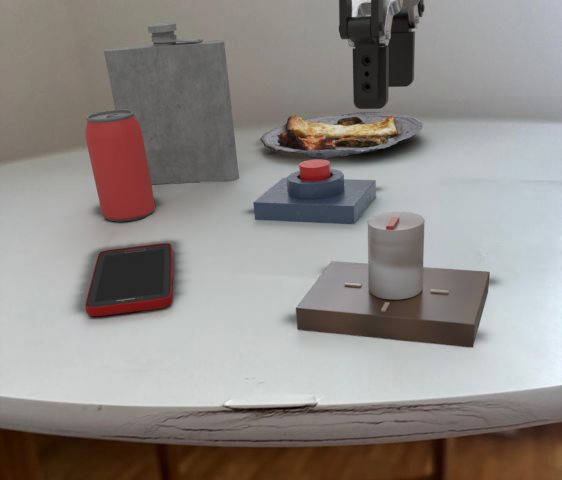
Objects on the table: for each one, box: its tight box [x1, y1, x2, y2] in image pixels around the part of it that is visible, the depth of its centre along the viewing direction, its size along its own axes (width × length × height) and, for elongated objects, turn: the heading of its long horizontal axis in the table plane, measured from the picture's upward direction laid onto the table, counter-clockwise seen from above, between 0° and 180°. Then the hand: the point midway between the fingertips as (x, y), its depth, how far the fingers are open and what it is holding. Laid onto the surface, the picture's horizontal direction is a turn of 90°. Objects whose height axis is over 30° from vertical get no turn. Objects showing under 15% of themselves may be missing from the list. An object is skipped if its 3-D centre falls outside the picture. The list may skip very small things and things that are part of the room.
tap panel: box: [295, 260, 491, 349], centre depth 58 cm, size 14×10×2 cm
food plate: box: [259, 111, 425, 160], centre depth 108 cm, size 25×23×4 cm
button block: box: [252, 167, 377, 225], centre depth 82 cm, size 12×10×4 cm
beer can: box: [85, 109, 156, 223], centre depth 84 cm, size 7×7×12 cm
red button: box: [298, 158, 331, 181], centre depth 81 cm, size 4×4×2 cm
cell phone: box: [84, 242, 174, 317], centre depth 67 cm, size 8×15×1 cm, turn 8°
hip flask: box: [103, 22, 240, 186], centre depth 93 cm, size 16×4×20 cm, turn 83°
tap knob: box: [367, 210, 426, 300], centre depth 56 cm, size 4×4×6 cm
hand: (385, 96), depth 50 cm, fingers open, 8 cm apart
